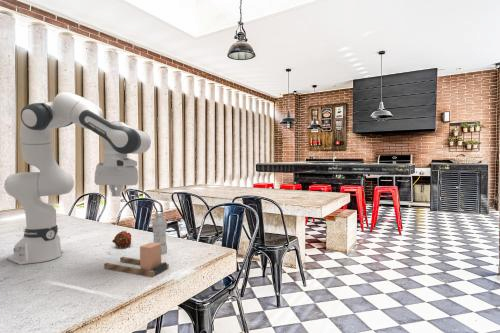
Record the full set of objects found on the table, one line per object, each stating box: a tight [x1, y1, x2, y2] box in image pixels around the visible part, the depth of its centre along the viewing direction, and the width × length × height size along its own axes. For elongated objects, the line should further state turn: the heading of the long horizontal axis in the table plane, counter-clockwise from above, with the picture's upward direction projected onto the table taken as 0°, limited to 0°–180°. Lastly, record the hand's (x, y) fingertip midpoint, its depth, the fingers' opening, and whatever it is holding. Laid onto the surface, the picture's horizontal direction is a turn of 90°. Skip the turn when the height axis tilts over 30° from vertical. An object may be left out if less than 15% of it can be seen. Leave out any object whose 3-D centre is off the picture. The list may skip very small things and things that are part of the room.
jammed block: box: [139, 242, 162, 271], centre depth 113 cm, size 5×6×10 cm
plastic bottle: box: [152, 210, 168, 255], centre depth 137 cm, size 6×7×20 cm
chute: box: [103, 256, 170, 278], centre depth 116 cm, size 24×9×4 cm, turn 67°
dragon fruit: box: [111, 230, 132, 248], centre depth 151 cm, size 8×8×12 cm
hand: (115, 196), depth 119 cm, fingers closed
